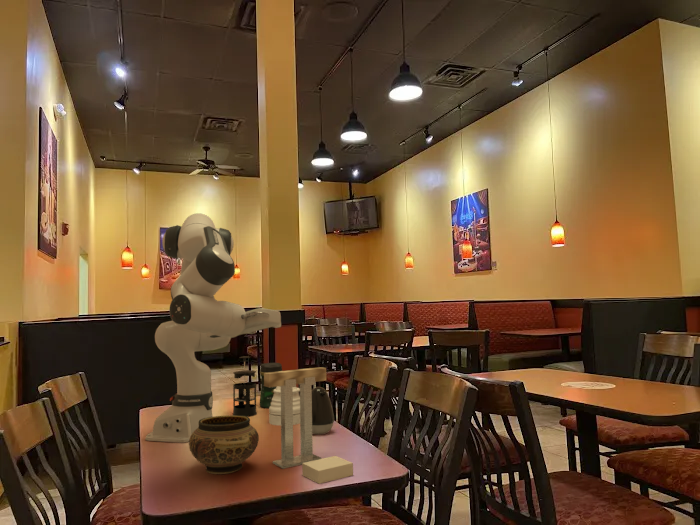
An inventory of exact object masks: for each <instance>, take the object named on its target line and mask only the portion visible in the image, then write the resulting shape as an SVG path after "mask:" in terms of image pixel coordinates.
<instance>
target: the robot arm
mask: <svg viewBox="0 0 700 525" xmlns="http://www.w3.org/2000/svg"><path fill="white" fill-rule="evenodd" d="M234 245H235V244H234V239H233V235H232V232H231V231H230V230H228V229H226V228H222V227H219V228H217V227H216V226H215V223H214V220H212V218H211V217H209V215H207V214H203V213H198V212H197V213H196V212H195V213H192V214H190V215H189V216H188V217H187V218H185V220H184V222H182V225H178V224H176V225H173V226H169V227H168V228H167V229H166V230H165V232H164V234H163V237H162V248H163V251H164V253H165V254H164V255H166V256H167V257H168V258H172V259H182V263H181V269H180V275H179V277H177V279H175V281H174V282H173V283H172V285H171V287H170V297H171V302H170V305H169V315H170V319H171V320H169V321H164V322H162V323H160V325H158V327H157V328H156V329H155V333H154V342H155V345H156V346H157V348H158V349H159V350H160V351H161V352H162V353H163V354H165V355H167V357H169V359H170V361H171V362H172V364H173V366H174V368H175V373H176V385H177V386H176V388H177V389H176V390H177V391H176V392H177V393H175V394H174V395H172V396H171V397H170V398H169V401H170V402H171V405H170V406H169V407H168V408H167V409H166V410H164V411H163V412H162V413H160V415H158V416H157V417H156V418H155V420H154V423H153V427H152V431H151V432H149V433H147V435H146V436H145V441H149V442H150V441H152V442H165V443H166V442H167V443H181V444H182V443H189V440H190V436H191V435H192V433H193V432H194V431H195V430H196V429H197V428H198V427H199V420H201V419H203V418H208V417H214V416H213V405H214V404H213V403H214V398H213V391H212V371H211V368H210V367H209V365H207V364H206V363H204V362H201V361H200V360H197V358H196V355H195V352H205V351H206V352H207V351H208V352H209V351H214V350H219V349H223V348H225V347H227V346H228V344H230V341H231V339H232V338H236V337H238V336H241V335H245V334H249V335H253V334H256V333H257V331H261V330H266V329H269V328H276V329H278V328H281V327H282V316H281V312H280V310H276V309H271V308H263V307H261V308H255V309H251V310H247V311H246V310H245V308H244V307H243V306H242V305H241V304H239V303H234V302H230V301H226V300H217V299H216V298H215V295H216V294H217V293H218V292H219V290H220V289H221V288H222V287H223V286H224V285H225V284H226V283H227V282H229V281H230V279H232V277H234V275H235V272H236V270H235V269H236V268H235V260H234V259H233V258H232V256H231V254H232V253H233V249H234Z"/></svg>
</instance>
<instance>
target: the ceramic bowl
mask: <svg viewBox="0 0 700 525" xmlns="http://www.w3.org/2000/svg"><path fill="white" fill-rule="evenodd" d="M250 421H251V419H250V416H249V417H247V416H238V415H233V414H232V415H216V416H213V417H208V418H203V419H201V420H199V427H198V428H197V429H196V430H195V431H194V432H193V433H192V435H191V436H190V440H189V442H188V446H189V451H190V453H191V455H192V456H193V458H195V460H196V461H198V462H199V463H200V464H202V465H204V466H206V467H205V472H206V473H209V474H213V475H229V474H231V473H235V472H238V471H240V470H241V469H242V468H243V463H244V462H245V461H246V460H248V459H249V458H251V456H252V455H253V454H254V452H255V450H256V449H257V447H258V445H259V440H260V439H259V437H260V436H259V433H258V430H257V429H256V428H255V427H254V426H253V425H252V424H250Z"/></svg>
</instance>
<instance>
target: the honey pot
mask: <svg viewBox="0 0 700 525" xmlns="http://www.w3.org/2000/svg"><path fill="white" fill-rule="evenodd" d="M292 389H293V426H294V425H300V387H297V386H296V387H292ZM273 392H274V396H273V398H272V402H271V406H270V407H269V408H268V413H269V414H268V423H269V425H271V426H272V425H273V426H280V427H281V387H279V386H277V387H276V389H274V390H273Z"/></svg>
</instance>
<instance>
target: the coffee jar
mask: <svg viewBox="0 0 700 525" xmlns="http://www.w3.org/2000/svg"><path fill="white" fill-rule="evenodd" d="M278 371H283V367H282V363H280V362H267V363H261V364H260V369H259V375H260V377H261V379H260V380H261V386H260V396H259V406H260V407H261V408H265V409H269V407H270V406H271V402H272V398H273V396H274V392H273V390H274V389H276V387H277V386H276V387H266V386H264V373H268V372H278Z"/></svg>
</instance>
